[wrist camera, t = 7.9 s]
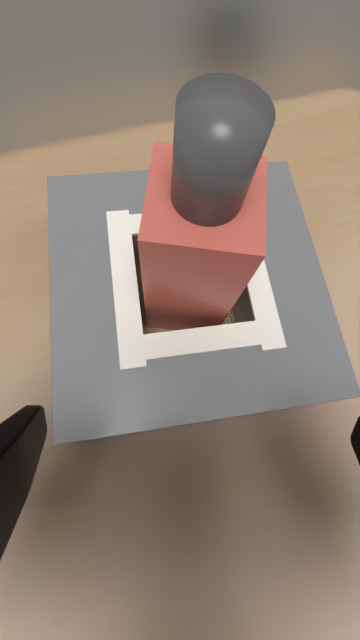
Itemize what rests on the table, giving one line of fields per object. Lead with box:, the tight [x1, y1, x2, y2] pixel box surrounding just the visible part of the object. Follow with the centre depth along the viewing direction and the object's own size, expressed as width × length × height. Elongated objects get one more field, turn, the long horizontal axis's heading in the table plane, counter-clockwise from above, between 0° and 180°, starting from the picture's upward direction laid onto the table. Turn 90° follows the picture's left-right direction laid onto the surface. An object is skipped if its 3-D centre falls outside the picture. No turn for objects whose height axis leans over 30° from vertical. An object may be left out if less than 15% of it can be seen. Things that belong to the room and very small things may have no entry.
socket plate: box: [47, 161, 360, 445], centre depth 17 cm, size 14×14×3 cm
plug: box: [138, 73, 275, 330], centre depth 13 cm, size 4×4×12 cm
